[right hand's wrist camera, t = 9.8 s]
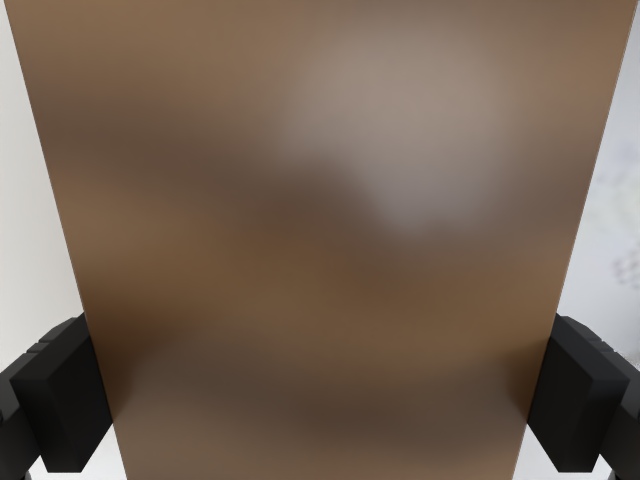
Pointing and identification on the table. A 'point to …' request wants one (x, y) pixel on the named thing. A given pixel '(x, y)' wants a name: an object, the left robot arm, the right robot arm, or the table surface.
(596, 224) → the table surface
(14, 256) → the table surface
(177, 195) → the cabinet
